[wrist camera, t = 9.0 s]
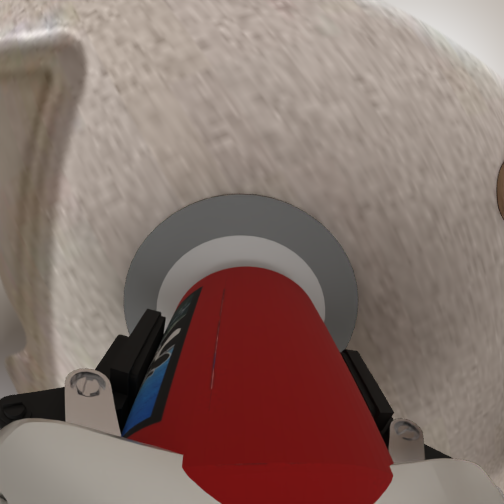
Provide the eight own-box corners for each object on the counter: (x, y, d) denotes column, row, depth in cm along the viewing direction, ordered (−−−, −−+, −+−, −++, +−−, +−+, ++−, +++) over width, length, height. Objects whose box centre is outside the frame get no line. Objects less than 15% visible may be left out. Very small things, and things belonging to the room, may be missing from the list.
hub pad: (327, 166, 14) (332, 165, 13) (363, 367, 17) (368, 376, 16) (96, 235, 14) (89, 239, 14) (178, 412, 17) (176, 422, 17)
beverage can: (153, 284, 14) (4, 519, 2) (296, 239, 13) (475, 489, 2) (205, 394, 15) (181, 607, 4) (327, 362, 15) (412, 574, 3)
